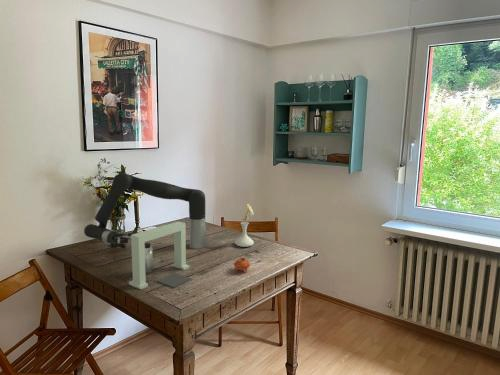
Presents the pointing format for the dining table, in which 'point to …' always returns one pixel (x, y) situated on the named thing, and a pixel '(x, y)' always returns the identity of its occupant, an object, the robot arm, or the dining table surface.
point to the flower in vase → (244, 239)
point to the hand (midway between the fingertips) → (132, 244)
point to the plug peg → (148, 258)
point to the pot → (242, 264)
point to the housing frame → (151, 234)
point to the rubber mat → (174, 280)
